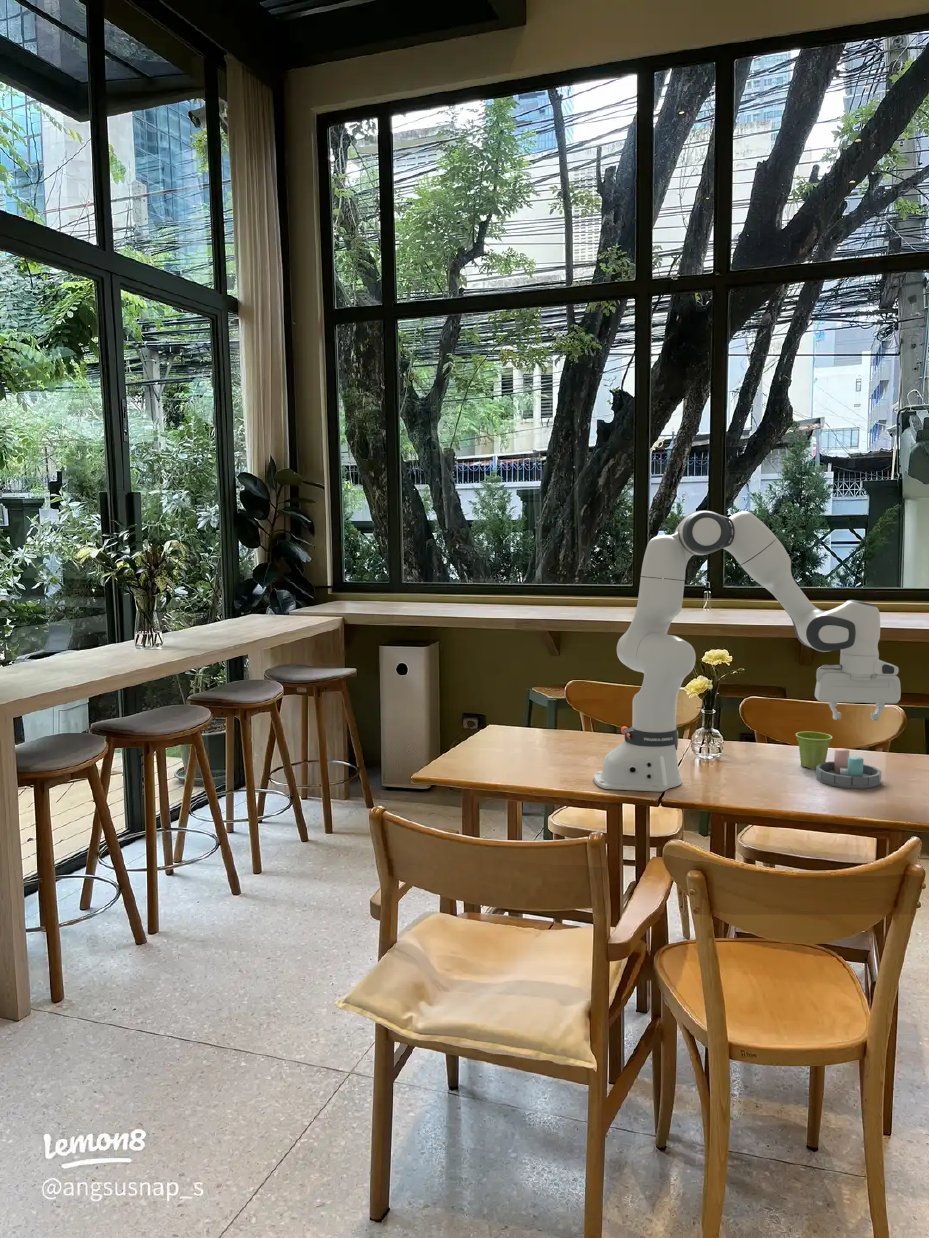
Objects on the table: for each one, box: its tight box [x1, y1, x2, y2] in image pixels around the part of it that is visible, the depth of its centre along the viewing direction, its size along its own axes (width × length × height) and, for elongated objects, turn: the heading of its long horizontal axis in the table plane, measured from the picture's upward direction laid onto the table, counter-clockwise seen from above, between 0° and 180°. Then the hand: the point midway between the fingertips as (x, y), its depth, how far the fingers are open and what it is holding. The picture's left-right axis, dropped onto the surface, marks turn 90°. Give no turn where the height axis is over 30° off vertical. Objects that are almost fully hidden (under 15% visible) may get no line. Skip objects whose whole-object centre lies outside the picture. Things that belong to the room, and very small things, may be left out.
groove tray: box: [815, 761, 882, 790], centre depth 235 cm, size 15×15×3 cm
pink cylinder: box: [833, 747, 850, 774], centre depth 239 cm, size 4×4×6 cm
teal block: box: [847, 756, 864, 777], centre depth 230 cm, size 4×4×6 cm
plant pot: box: [795, 731, 833, 770], centre depth 249 cm, size 9×9×9 cm
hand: (855, 719), depth 229 cm, fingers open, 8 cm apart
